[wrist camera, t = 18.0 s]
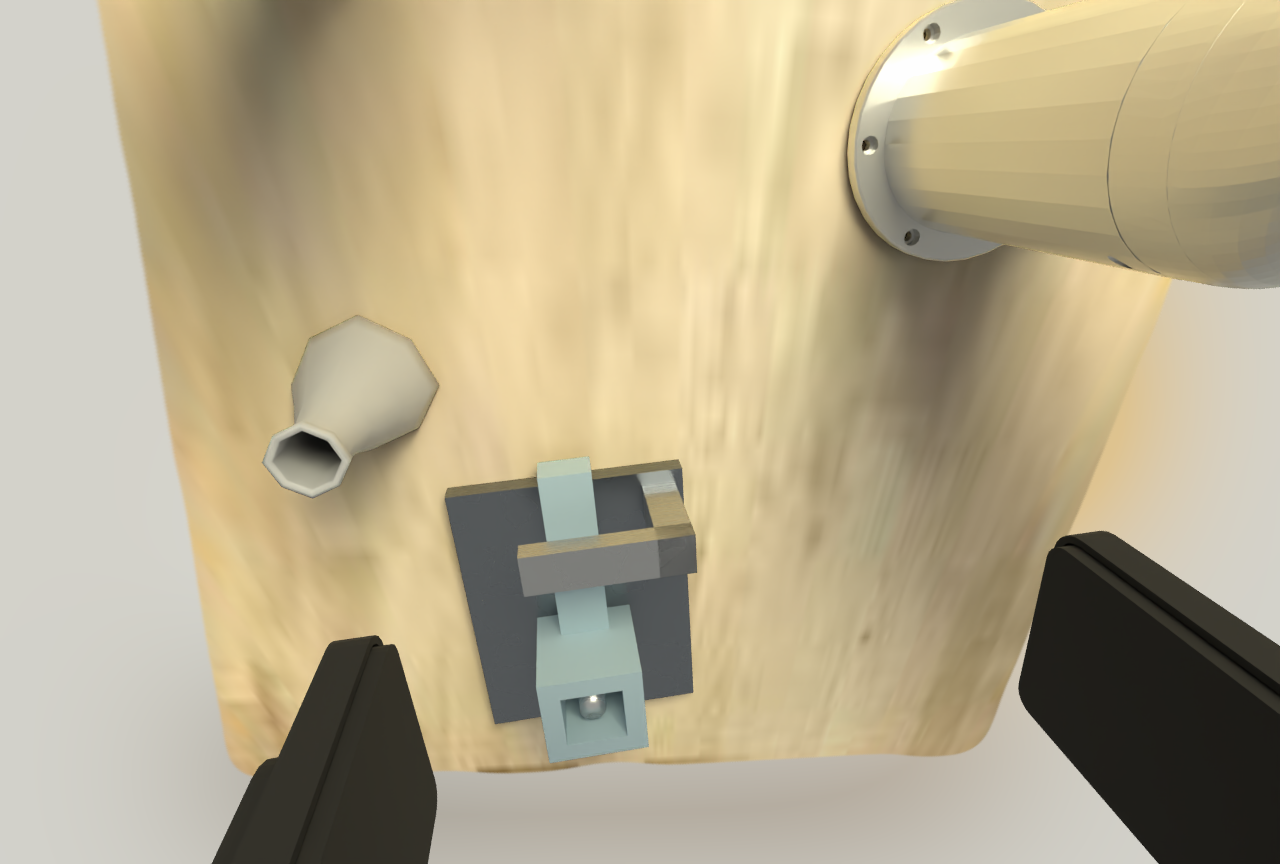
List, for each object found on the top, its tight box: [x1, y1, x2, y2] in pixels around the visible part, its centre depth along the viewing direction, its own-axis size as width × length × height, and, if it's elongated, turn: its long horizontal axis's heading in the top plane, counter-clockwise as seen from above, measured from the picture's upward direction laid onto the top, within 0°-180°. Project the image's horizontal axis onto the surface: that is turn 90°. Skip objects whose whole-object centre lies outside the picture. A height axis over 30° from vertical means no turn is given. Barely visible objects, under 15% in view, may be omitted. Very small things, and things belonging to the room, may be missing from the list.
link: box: [536, 457, 649, 763], centre depth 38 cm, size 17×6×6 cm, turn 4°
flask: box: [262, 315, 439, 498], centre depth 31 cm, size 7×7×10 cm
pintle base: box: [445, 460, 697, 724], centre depth 40 cm, size 14×18×7 cm
